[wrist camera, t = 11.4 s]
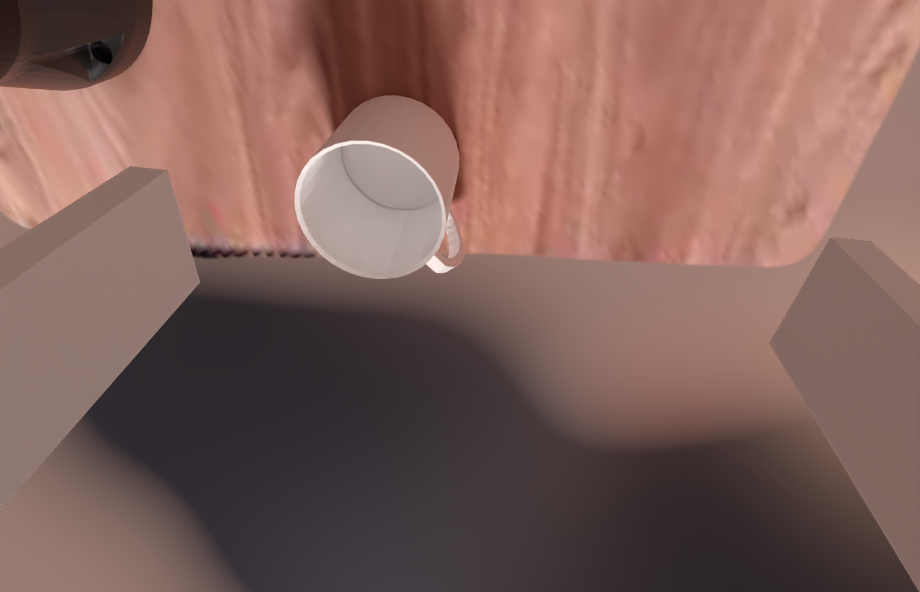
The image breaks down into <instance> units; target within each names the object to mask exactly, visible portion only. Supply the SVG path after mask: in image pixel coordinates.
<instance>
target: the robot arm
mask: <svg viewBox="0 0 920 592" xmlns="http://www.w3.org/2000/svg"><path fill="white" fill-rule="evenodd" d="M151 18H152V0H0V86H3V87H17V88H30V89H44V90H59V91H63V90H75V89H82V88H86V87H90V86H93V85H95V84H98V83H101V82H103V81H106V80H108V79H111V78H113V77H115V76H117V75H119V74H121V73H122V72H124V71H125V70H126V69H128V68H129V67H130V66H131V65H132V64H133V63H134V62H135V60H136V59H137V58H138V56H139V55H140V53H141V51H142V50H143V48H144V45H145V43H146V41H147V37H148V34H149V30H150V25H151ZM199 283H200V281H199V277H198V274H197V270H196V267H195V264H194V260H193V257H192V253H191V250H190V246H189V243H188V240H187V236H186V233H185V229H184V226H183V222H182V219H181V215H180V212H179V209H178V205H177V202H176V198H175V195H174V191H173V188H172V185H171V181H170V178H169V174H168V171H167V170H161V169H151V168H141V167H131V166H130V167H128V168H127V169H125V170H124V171H122V172H121V173H119V174H117V175H116V176H114V177H113V178H111V179H110V180H108V181H106V182H105V183H103V184H102V185H100V186H99V187H97V188H95V189H94V190H92V191H91V192H89V193H88V194H86V195H84V196H83V197H81V198H80V199H78V200H77V201H75V202H73V203H72V204H70V205H69V206H67V207H66V208H64V209H62V210H61V211H59V212H58V213H56V214H55V215H53V216H51V217H50V218H48V219H47V220H45V221H43V222H42V223H40V224H39V225H37V226H36V227H34V228H32V229H31V230H29V231H28V232H26V233H25V234H23V235H21V236H20V237H18V238H17V239H15V240H14V241H12V242H10V243H9V244H7V245H6V246H4V247H3V248H1V249H0V510H1V509H2V508H3V507H4V506H5V505H6V503H7V502H8V501H9V500H10V499H11V498H12V497H13V495H14V494H15V493H16V492H17V491H18V490H19V489H20V488H21V486H22V485H23V484H24V483H25V482H26V481H27V480H28V478H29V477H30V476H31V475H32V474H33V473H34V472H35V470H36V469H37V468H38V467H39V466H40V465H41V463H42V462H43V461H44V460H45V459H46V458H47V457H48V455H49V454H50V453H51V452H52V451H53V450H54V449H55V447H56V446H57V445H58V444H59V442H61V441H62V439H63V438H64V437H65V436H66V435H67V434H68V433H69V431H70V430H71V429H72V428H73V427H74V426H75V425H76V423H77V422H78V421H79V420H80V419H81V418H82V417H83V415H84V414H85V413H86V412H87V411H88V410H89V409H90V407H91V406H92V405H93V404H94V403H95V402H96V401H97V399H98V398H99V397H100V396H101V395H102V394H103V393H104V391H105V390H106V389H107V388H108V387H109V386H110V385H111V383H112V382H113V381H114V380H115V379H116V378H117V376H118V375H119V374H120V373H121V372H122V371H123V370H124V368H125V367H126V366H127V365H128V364H129V363H130V361H131V360H132V359H133V358H134V357H135V356H136V354H138V352H139V351H140V350H141V349H142V348H143V347H144V346H145V344H146V343H147V342H148V341H149V340H150V339H151V338H152V336H153V335H154V334H155V333H156V332H157V331H158V330H159V328H160V327H161V326H162V325H163V324H164V323H165V322H166V320H167V319H168V318H169V317H170V316H171V315H172V314H173V312H174V311H175V310H176V309H177V308H178V307H179V305H180V304H181V303H182V302H183V301H184V300H185V299H186V298H187V296H188V295H189V294H190V293H191V292H192V291H193V289H194V288H195V287H196V286H197V285H198V284H199ZM769 344H770V345H771V347H772V349H773V350H774V352H775V354H776V355H777V357H778V359H779V360H780V362H781V364H782V365H783V367H784V368H785V370H786V372H787V374H788V375H789V377H790V378H791V380H792V382H793V383H794V385H795V387H796V388H797V390H798V392H799V393H800V395H801V397H802V398H803V400H804V402H805V403H806V405H807V407H808V408H809V410H810V412H811V413H812V415H813V416H814V418H815V420H816V422H817V423H818V425H819V427H820V428H821V430H822V432H823V433H824V435H825V436H826V438H827V440H828V441H829V443H830V445H831V446H832V448H833V450H834V451H835V453H836V455H837V456H838V458H839V460H840V461H841V463H842V464H843V466H844V468H845V470H846V471H847V473H848V475H849V476H850V478H851V479H852V481H853V483H854V485H855V486H856V488H857V489H858V491H859V493H860V494H861V496H862V498H863V499H864V501H865V503H866V504H867V506H868V508H869V509H870V511H871V513H872V514H873V516H874V518H875V519H876V521H877V523H878V524H879V526H880V528H881V529H882V531H883V533H884V534H885V536H886V537H887V539H888V541H889V542H890V544H891V546H892V547H893V549H894V551H895V553H896V554H897V556H898V557H899V559H900V561H901V562H902V564H903V566H904V567H905V569H906V571H907V572H908V574H909V575H910V577H911V579H912V580H913V582H914V584H915V586H916V587H917V589H918V590H919V592H920V285H919V284H918V283H917V282H916V281H915V280H914V279H912V278H911V277H910V276H909V275H908V274H907V273H906V272H905V271H904V270H902V269H901V268H900V267H899V266H898V265H897V264H896V263H895V262H894V261H892V260H891V259H890V258H889V257H888V256H887V255H886V254H885V253H883V252H882V251H881V250H880V249H879V248H878V247H877V246H876V245H874V243H872V242H871V241H863V240H854V239H844V238H834V237H831V238H830V239H829V241H828V243H827V244H826V246H825V248H824V250H823V251H822V253H821V255H820V257H819V258H818V260H817V262H816V263H815V265H814V267H813V269H812V271H811V272H810V274H809V276H808V277H807V279H806V281H805V282H804V284H803V286H802V288H801V289H800V291H799V293H798V295H797V296H796V298H795V300H794V301H793V303H792V305H791V307H790V309H789V310H788V312H787V314H786V315H785V317H784V319H783V320H782V322H781V324H780V326H779V328H778V329H777V331H776V333H775V334H774V336H773V338H772V339H771V342H770V343H769Z"/></svg>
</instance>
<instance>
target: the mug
mask: <svg viewBox="0 0 920 592" xmlns="http://www.w3.org/2000/svg"><path fill="white" fill-rule="evenodd" d="M458 170H459V152H458V147H457V143H456V140H455V138H454V136H453V134H452V131H451V130H450V128H449V127H448V125H447V124H446V122H445V121H444V120H443V119H442V118H441V117H440V116H439V115H438V114H437V113H436V112H435V111H434V110H433V109H431V108H430V107H428V106H427V105H425V104H424V103H421V102H419V101H417V100H414V99H412V98H408V97H403V96H398V95H385V96H380V97H376V98H372V99H370V100H368V101H366V102H363V103H361V104H360V105H359V106H358V107H356V108H355V109H354V110H352V112H351V113H350V114H349V115H348V116H347V117H346V119H345V120H344V121H343V122H342V123H341V124H340V126H339V127H338V128H337V129H336V130H335V131H334V133H333V134H332V135H331V136H330V137H329V138H328V140H327V141H326V142H325V143H324V144H323V145H322V147H321V148H320V149H319V150H318V151H317V152H316V154H315V155H314V156H313V157H312V158H311V160H310V161H309V162H308V163H307V164H306V166H305V167H304V168H303V170H302V172H301V174H300V176H299V178H298V180H297V185H296V190H295V210H296V214H297V218H298V222H299V224H300V226H301V228H302V231H303V233H304V235H305V236H306V238H307V239H308V240H309V242H310V243H311V245H312V246H313V247H314V248H315V249H316V250H317V251H318V252H319V253H320V254H321V255H322V256H323V257H324V258H326V259H327V260H328V261H329V262H331V263H332V264H334V265H335V266H337V267H339V268H341V269H343V270H345V271H347V272H350V273H352V274H355V275H358V276H362V277H368V278H376V279H388V278H395V277H401V276H403V275H406V274H410V273H412V272H414V271H416V270H417V269H419V268H421V267H422V266H424V265H425V264H426V265H428V266H429V267H430V268H431V269H432V270H434V271H435V272H436V273H445V272H447V271H448V270H450V269H452V268H454V267H456V266H458V265H459V264H460V263H461V262H462V260H463V258H464V243H463V239H462V237H461V233H460V229H459V225H458V223H457V220H456V218H455V216H454V214H453V212H452V210H451V209H450V207H451V203H452V198H453V194H454V189H455V185H456V181H457V176H458ZM445 229H447V231H446V233H447V235H448V240H449V243H450V247H449V256H448V258H444V257H443V256H442V255H441V254H440V253H439V252H438V251H437V250H438V249H439V247H440V245H441V242H442V240H443V238H444V234H445Z"/></svg>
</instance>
